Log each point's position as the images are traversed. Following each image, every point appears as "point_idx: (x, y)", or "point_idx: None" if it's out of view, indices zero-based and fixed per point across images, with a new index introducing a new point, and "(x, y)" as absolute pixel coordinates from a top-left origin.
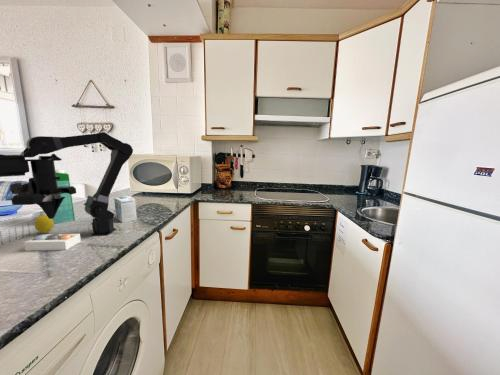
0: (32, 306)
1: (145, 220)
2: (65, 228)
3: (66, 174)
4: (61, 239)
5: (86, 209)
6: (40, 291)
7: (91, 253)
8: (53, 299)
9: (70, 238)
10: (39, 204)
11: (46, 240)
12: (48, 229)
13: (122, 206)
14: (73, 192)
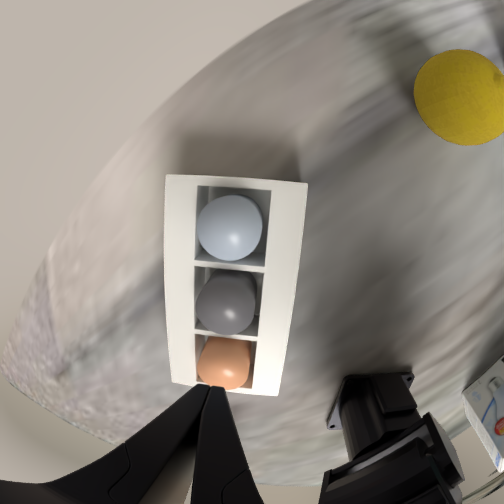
0: (17, 381)
1: None
2: (482, 175)
3: None
4: (200, 356)
5: (389, 485)
6: (32, 379)
7: None
8: (32, 399)
9: None
10: (46, 499)
11: (184, 291)
12: (433, 131)
13: (491, 443)
14: None
